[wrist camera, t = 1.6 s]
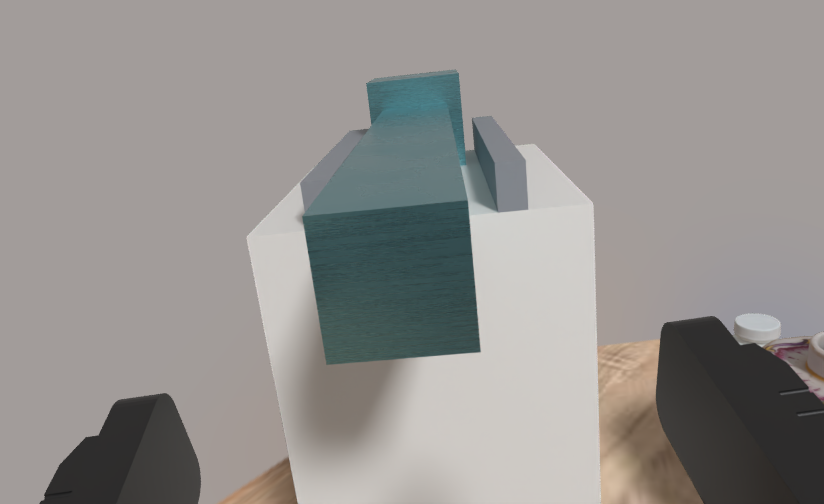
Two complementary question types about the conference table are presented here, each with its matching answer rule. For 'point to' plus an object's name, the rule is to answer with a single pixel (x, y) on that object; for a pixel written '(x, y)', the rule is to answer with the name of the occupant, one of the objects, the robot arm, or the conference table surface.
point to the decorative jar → (803, 359)
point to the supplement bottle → (756, 329)
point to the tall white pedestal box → (450, 374)
